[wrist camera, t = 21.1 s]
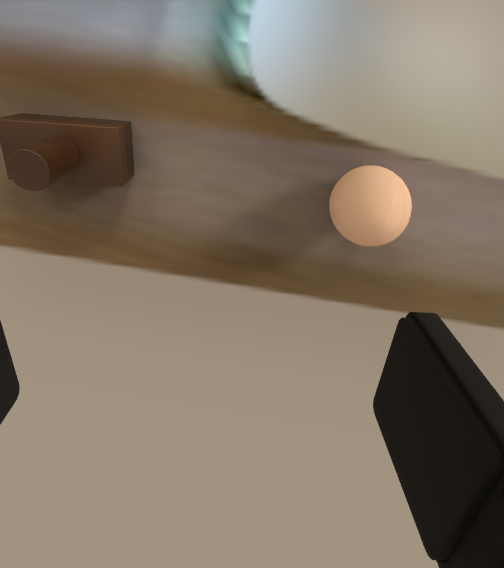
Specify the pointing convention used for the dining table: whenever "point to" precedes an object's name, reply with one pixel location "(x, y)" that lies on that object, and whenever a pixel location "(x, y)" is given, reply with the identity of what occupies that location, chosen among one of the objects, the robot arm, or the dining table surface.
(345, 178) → the egg
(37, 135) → the wooden stamp
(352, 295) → the dining table surface
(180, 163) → the dining table surface
